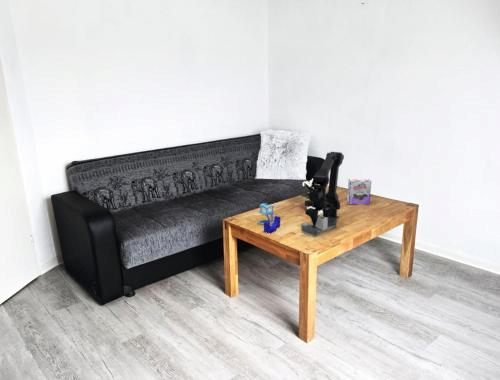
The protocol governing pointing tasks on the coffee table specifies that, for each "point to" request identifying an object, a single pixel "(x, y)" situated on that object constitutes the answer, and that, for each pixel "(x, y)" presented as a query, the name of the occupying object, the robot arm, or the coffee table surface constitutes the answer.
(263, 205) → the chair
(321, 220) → the module
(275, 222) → the cable clip
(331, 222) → the rail
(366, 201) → the candy box
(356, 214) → the coffee table surface
